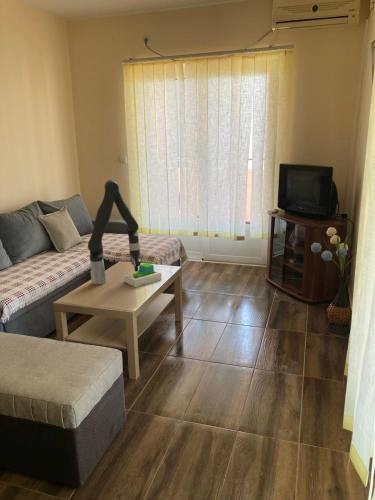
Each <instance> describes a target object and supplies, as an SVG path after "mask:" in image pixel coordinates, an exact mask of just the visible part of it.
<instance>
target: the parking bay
mask: <svg viewBox="0 0 375 500" xmlns="http://www.w3.org/2000/svg"><path fill="white" fill-rule="evenodd" d="M123 278H124V282H125V283H127V284H128V285H130V286H133V287H135V288H137V287H141V286H144V285H147V284H150V283H153V282H157V281H159V280H162V272H160V271H158V270H156V269H154V274H151V275H147V276H144V277H140V278H137V279H135V278H133V276H130V275H128V274H124V275H123ZM143 284H144V285H143ZM140 285H141V286H140Z"/></svg>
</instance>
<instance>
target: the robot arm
mask: <svg viewBox="0 0 375 500" xmlns="http://www.w3.org/2000/svg"><path fill="white" fill-rule="evenodd" d="M114 204H115V206H116V209H117V211H118V213H119V215H120V216H121V218H122V219H123V221H124V222H125V223H126V232H127V236H128V250H129V256H131V257H129V260H130V262H131V264H132V266H133V267H134V272H135V273H137V272H139V267H140V265H142V260H140V255H141V248H140V247H141V246H140V241H139V240H140V239H139V235H138V233H137V231H138V230H139V229H140V228H139V224H138V222H137V220H136V219H135V217H134V216H133V214H132V212H131V211H130V208H129V206H128V205H127V203H126V202H125V200H124V199H123V197H122V194H121V192H120V187H119V184H118V182H116V181H115V180H114V179H113V180H112V179H108V180H107V181H105V183H104V195H103V198H102V202H101V203H100V205H99V208H98V209H97V212H96V216H95V220H94V223H93V229H92V234H91V236H90V238H89V241H88V243H87V248H88V251H89V262H90V279H91V280H90V281H91V284H93V285H94V286H98V285H103V284H105V283H106V282H107V279H106V271H105V263H104V249H103V248H104V247H103V241H102V240H103V237H104V233H105V231H106V229H107V227H108V225H109V221H110V219H111V216H112V212H113V207H114Z"/></svg>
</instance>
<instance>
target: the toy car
mask: <svg viewBox="0 0 375 500" xmlns="http://www.w3.org/2000/svg"><path fill="white" fill-rule="evenodd" d="M154 270H155V269H154V265H153V264H151V263H148V262H146V263H141V264H140V266H138V271H137V272H134V273H133V274H132V277H133V278H135V279H137V278H140V277H144V276H147V275H151V274H154Z"/></svg>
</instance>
